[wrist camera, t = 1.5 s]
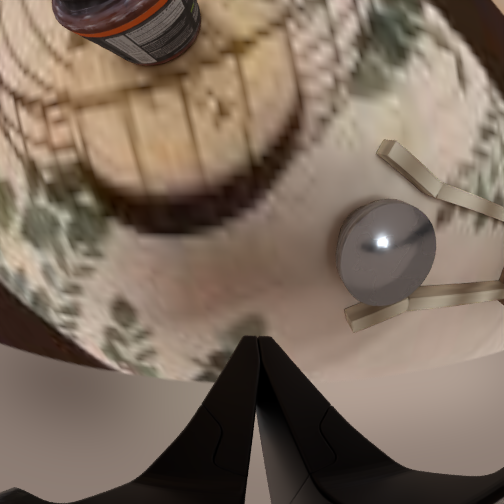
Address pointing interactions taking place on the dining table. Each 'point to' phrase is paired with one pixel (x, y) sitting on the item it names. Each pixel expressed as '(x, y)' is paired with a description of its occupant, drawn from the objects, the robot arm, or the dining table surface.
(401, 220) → the stud
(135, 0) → the supplement bottle
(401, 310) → the channel
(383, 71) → the dining table surface
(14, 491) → the robot arm
